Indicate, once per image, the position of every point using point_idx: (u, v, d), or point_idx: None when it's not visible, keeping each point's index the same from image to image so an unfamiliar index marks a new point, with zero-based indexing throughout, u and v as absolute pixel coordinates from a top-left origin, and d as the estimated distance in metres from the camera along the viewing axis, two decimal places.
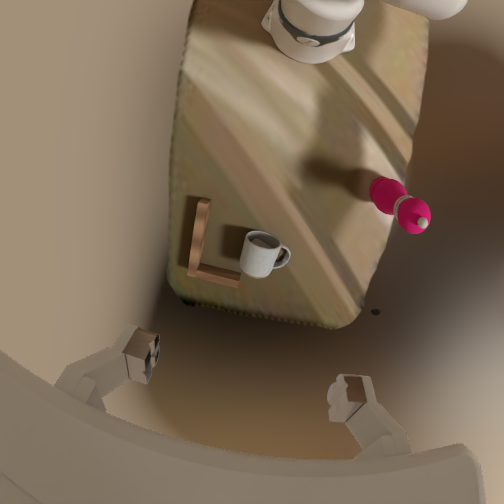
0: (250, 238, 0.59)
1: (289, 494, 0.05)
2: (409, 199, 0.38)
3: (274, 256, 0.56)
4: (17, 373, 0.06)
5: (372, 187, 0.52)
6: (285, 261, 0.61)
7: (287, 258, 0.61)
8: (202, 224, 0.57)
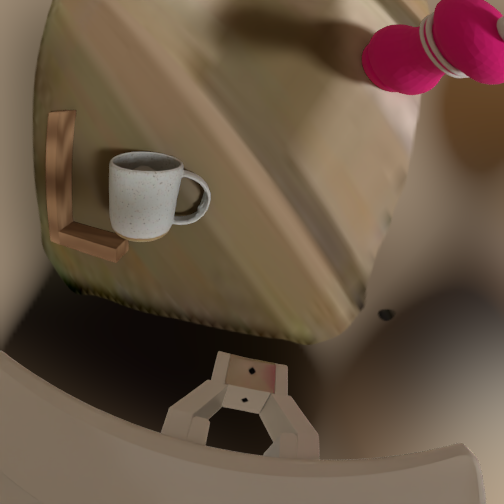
0: (133, 166, 0.28)
1: (289, 494, 0.05)
2: None
3: (162, 192, 0.24)
4: (17, 373, 0.06)
5: (365, 51, 0.20)
6: (202, 210, 0.30)
7: (205, 203, 0.29)
8: (54, 148, 0.25)
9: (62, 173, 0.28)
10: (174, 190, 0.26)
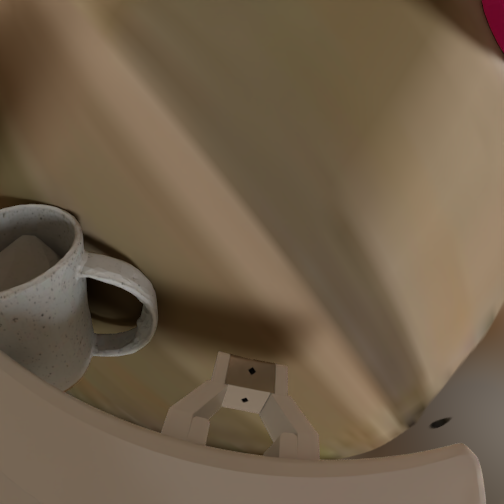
0: (12, 236, 0.11)
1: (289, 494, 0.05)
2: None
3: (30, 334, 0.07)
4: (17, 373, 0.06)
5: None
6: (145, 333, 0.13)
7: (149, 322, 0.12)
8: None
9: None
10: (62, 317, 0.09)
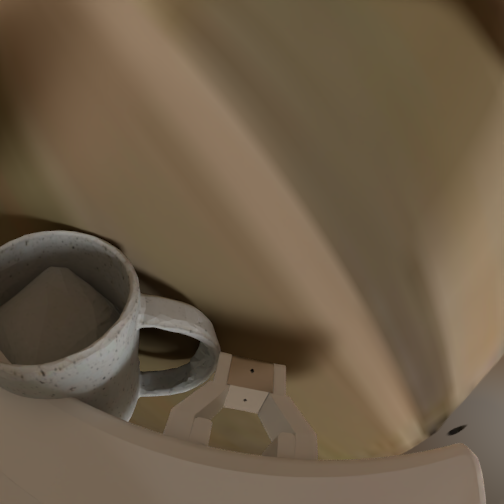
0: (37, 267, 0.10)
1: (289, 494, 0.05)
2: None
3: (88, 398, 0.07)
4: None
5: None
6: (201, 373, 0.12)
7: (209, 363, 0.12)
8: None
9: None
10: (122, 373, 0.08)
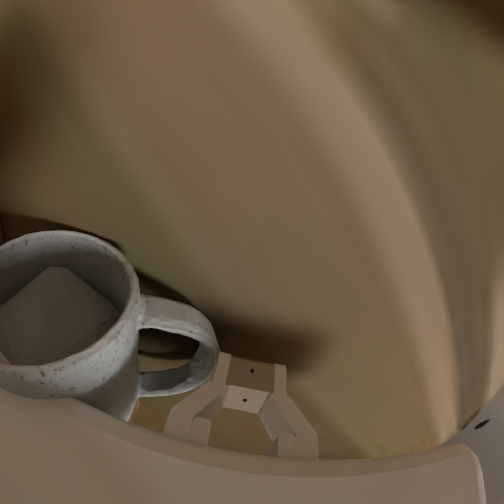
0: (37, 267, 0.10)
1: (289, 494, 0.05)
2: None
3: (87, 398, 0.07)
4: None
5: None
6: (201, 373, 0.12)
7: (208, 364, 0.12)
8: None
9: None
10: (122, 374, 0.08)
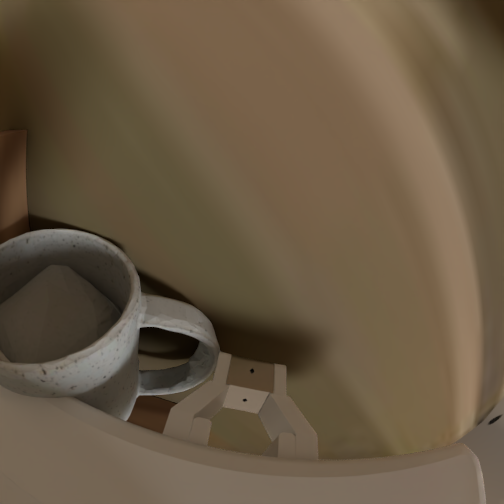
0: (38, 265, 0.10)
1: (289, 494, 0.05)
2: None
3: (88, 397, 0.07)
4: None
5: None
6: (200, 372, 0.12)
7: (208, 363, 0.12)
8: None
9: None
10: (122, 372, 0.08)
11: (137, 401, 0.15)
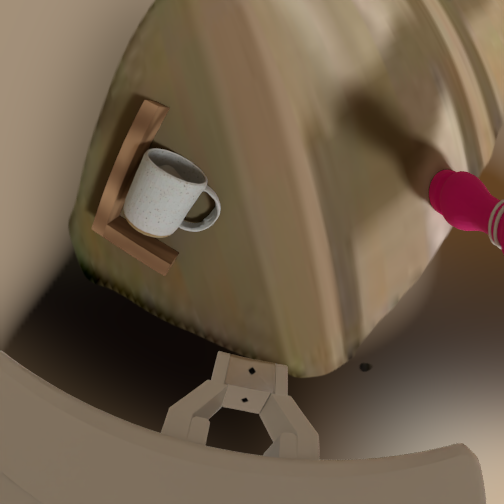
0: (159, 162, 0.30)
1: (289, 494, 0.05)
2: None
3: (185, 201, 0.27)
4: (17, 373, 0.06)
5: (438, 178, 0.28)
6: (207, 223, 0.33)
7: (212, 219, 0.33)
8: (138, 141, 0.27)
9: (133, 168, 0.30)
10: (193, 201, 0.29)
11: (157, 243, 0.35)
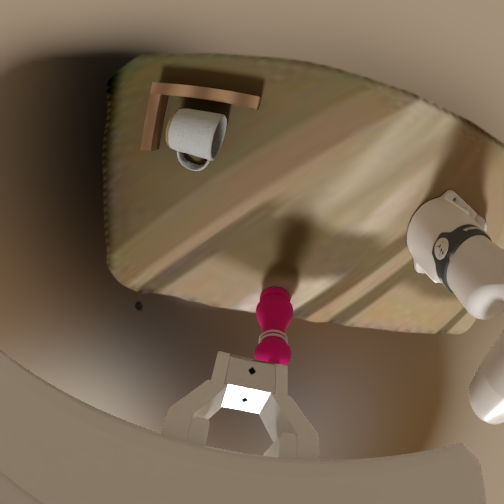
0: None
1: (289, 494, 0.05)
2: (289, 349, 0.42)
3: (198, 154, 0.39)
4: (17, 373, 0.06)
5: (279, 290, 0.54)
6: (186, 165, 0.45)
7: (191, 167, 0.45)
8: (228, 101, 0.37)
9: None
10: (199, 156, 0.41)
11: (159, 132, 0.43)
